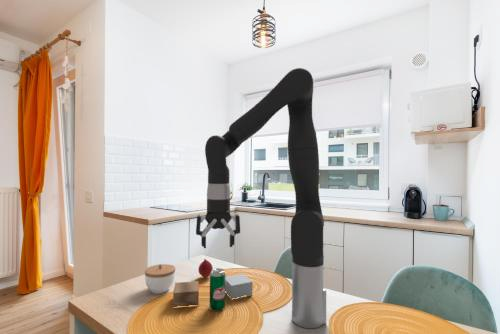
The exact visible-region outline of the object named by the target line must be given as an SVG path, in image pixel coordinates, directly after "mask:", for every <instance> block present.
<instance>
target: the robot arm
mask: <svg viewBox="0 0 500 334" xmlns="http://www.w3.org/2000/svg"><path fill="white" fill-rule="evenodd" d="M313 96H314V77H313V76H312V74H311V72H310V71H309V70H307V69H306V68H301V67H299V68H298V67H297V68H293V69H292V70H289V72H288V73H286V74H285V75H284V76H283V77H282V79H280V81H279V82H278V83H277V84H276V85H275V86H274V87H273V88H272V89H271V90H270V91H269V92H268V93H267V94H266V95H265V96H264V97H263V98H262V99H260V100H259V101H258V102H257V103H256V104H255V105H254V106H253V107H252V108H250V109H249V110H248V111H246V112H245V113H243V115H241V116H240V117H239V118H237V119H236V120H235V121H233V122H232V123H231V124H230V125H229V127H228V130H227V132H225V133H224V134H223V135H222V136H221V135H212V136H210V137H209V138H208V139H207V141H206V143H205V145H204V146H205V147H204V152H205V153H204V154H205V155H204V156H205V160H206V165H207V171H208V172H207V190H206V215H200V214H197V216H196V225H195V226H196V227H195V234H196V235H197V236H200V237H201V242H200V243H201V247H203V249H206V248H207V234H208V233H209V232H210V231H211V229H213V230H217V229H219V230H220V229H221V230H223V229H226V231H228V233H229V247H230V248H233V246H235V236H236V235H238V234H241V224H240V223H241V221H240V220H241V218H240V215H239V214H237V213H236V214H233V215H231V187H230V167H228V165H227V158H228V157H229V156H231V155H232V154H233V153H234V152H236V151H237V149H238V148H239V147H241V145H242V144H243V143H244V142H246V141H247V140H248V139H250V138H251V137H253V136H254V135H255V134H256V133H258V132H259V131H260V130H261V129H263V127H264V126H265V125H266V124H267V123H268V122H269V121H270V120H271V119H272V118H273V117H274V115H276V114H277V113H278V112H279V111H281V109H283V108H284V107H286V106H287V111H288V116H289V117H288V118H289V122H288V124H289V126H288V135H287V157H288V167H289V172H290V177H291V180H292V183H293V184H292V185H293V188H294V192H295V212H294V213H295V214H294V216H292V218H291V223H290V253H291V276H292V277H291V278H292V279H291V319H292V322H293V323H294V324H295V325H296V326H298V327H301V328H305V329H317V328H320V327H321V326H323V325H325V324H327V290H326V289H325V287H324V283H325V282H324V268H325V267H324V263H325V262H324V261H325V260H324V257H325V256H324V226H325V220H324V216H323V209H322V206H321V200H320V199H321V198H320V192H319V190H320V189H319V185H320V184H319V183H320V182H319V181H320V156H319V155H320V154H319V146H318V138H317V133H316V128H315V125H314V120H313ZM204 220H205V221H206V222H207V224H206V226H205V227H204V228H203V230H201V223H203V222H204ZM231 220H233V222H234V224H235V226H234V227H235V228H234V229H233V228H232V227H231V226H230V224H229V223H230V221H231Z"/></svg>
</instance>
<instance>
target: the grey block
mask: <svg viewBox="0 0 500 334" xmlns="http://www.w3.org/2000/svg"><path fill="white" fill-rule="evenodd" d="M225 291H226V292H227V294H228V295H229V296H230V297H231V299H232V298H237V297H241V296H244V295H247V296H249V297H252V296H253V281H252V280H251V279H250V278H249V277H247V276H246V275H245V274H244V273H240V274H235V275H229V276H228V275H227V276H225ZM231 299H230V300H231Z"/></svg>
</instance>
